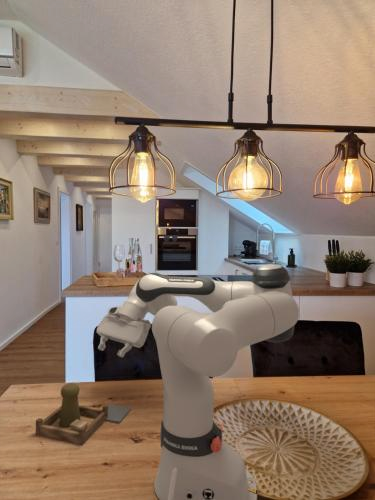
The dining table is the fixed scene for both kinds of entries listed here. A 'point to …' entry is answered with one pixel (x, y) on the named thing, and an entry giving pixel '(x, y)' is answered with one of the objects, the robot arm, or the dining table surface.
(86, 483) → the dining table surface
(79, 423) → the offcut stack
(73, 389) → the cork
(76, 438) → the frame
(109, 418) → the slate coaster
